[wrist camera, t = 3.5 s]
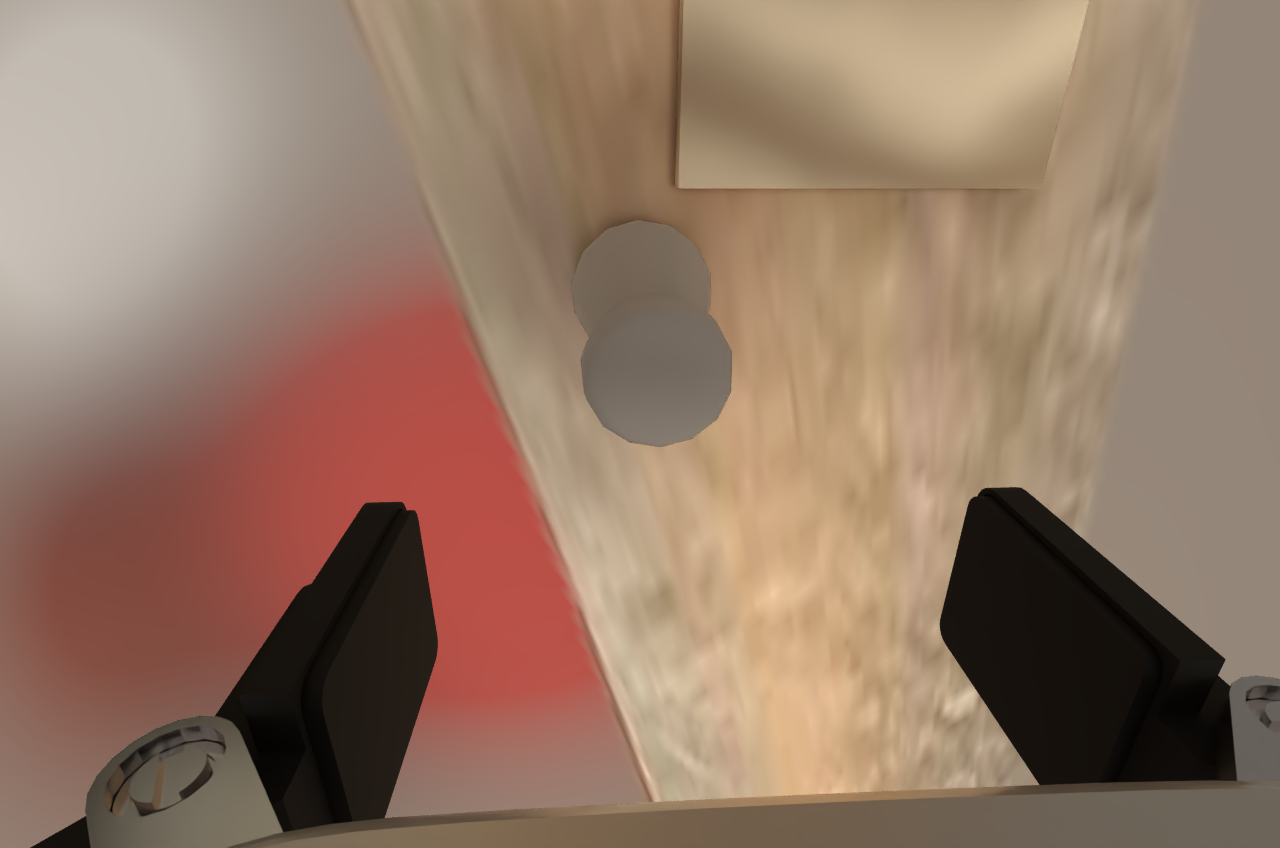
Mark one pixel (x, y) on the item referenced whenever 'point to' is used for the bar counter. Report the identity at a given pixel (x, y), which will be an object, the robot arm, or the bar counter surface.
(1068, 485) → the bar counter surface
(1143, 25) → the bar counter surface
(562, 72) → the bar counter surface
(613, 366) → the salt shaker
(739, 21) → the serving board
